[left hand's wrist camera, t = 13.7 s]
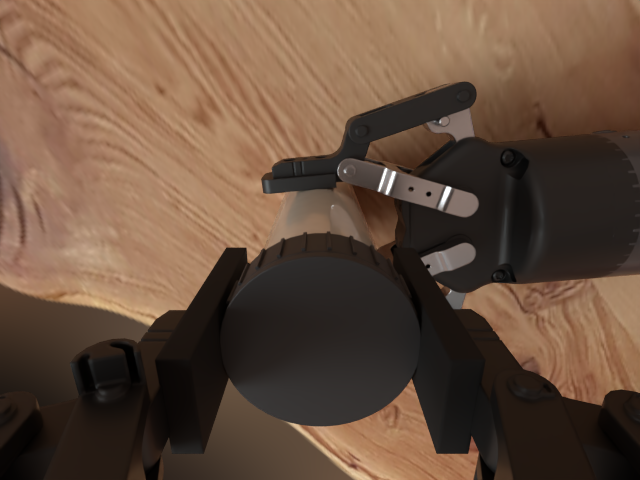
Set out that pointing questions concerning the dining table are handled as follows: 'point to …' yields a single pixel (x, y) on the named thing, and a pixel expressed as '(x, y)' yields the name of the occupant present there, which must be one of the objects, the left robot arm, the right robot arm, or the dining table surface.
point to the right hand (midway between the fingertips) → (272, 233)
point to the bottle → (321, 215)
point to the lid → (320, 331)
